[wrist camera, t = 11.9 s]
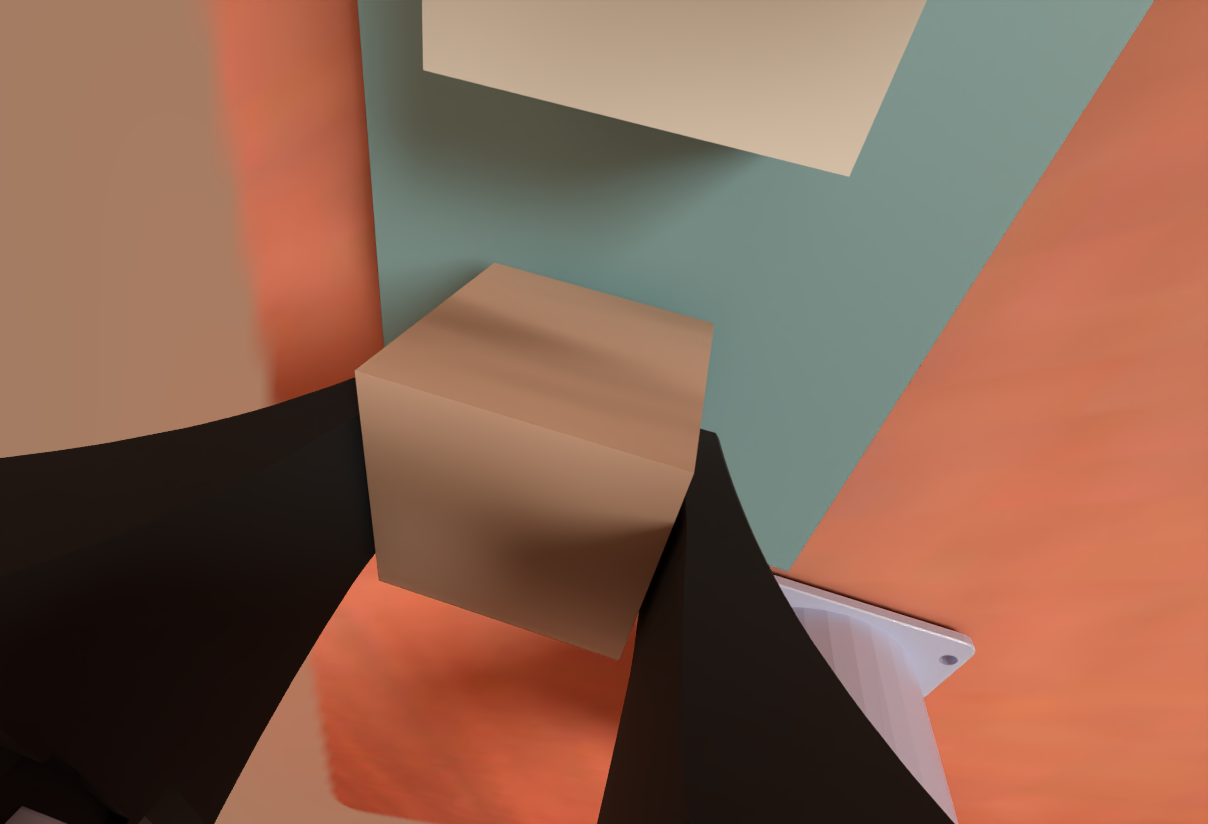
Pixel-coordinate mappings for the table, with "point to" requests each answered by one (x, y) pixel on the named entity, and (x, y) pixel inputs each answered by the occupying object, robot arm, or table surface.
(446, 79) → the teal board
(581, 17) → the cream block
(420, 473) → the brown block
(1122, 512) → the table surface
